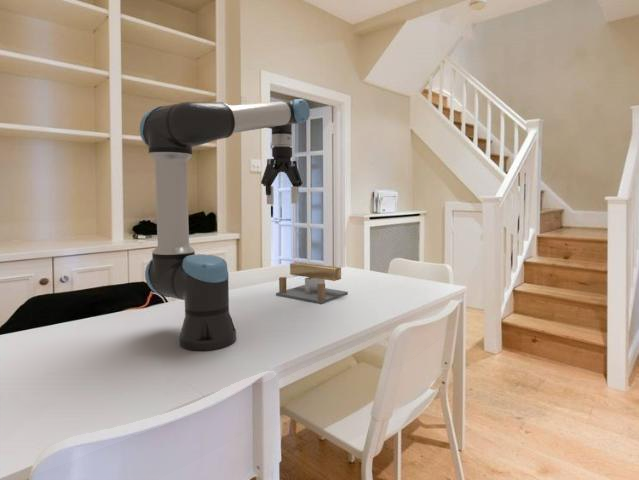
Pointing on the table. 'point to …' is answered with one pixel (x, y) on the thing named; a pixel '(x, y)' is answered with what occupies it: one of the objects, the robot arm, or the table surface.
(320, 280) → the ridge
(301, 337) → the table surface
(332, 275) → the oak batten
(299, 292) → the board
